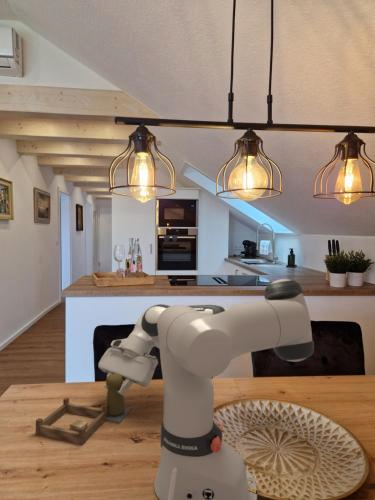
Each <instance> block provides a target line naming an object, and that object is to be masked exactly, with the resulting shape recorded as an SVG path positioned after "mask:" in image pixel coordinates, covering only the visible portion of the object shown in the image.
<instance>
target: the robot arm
mask: <svg viewBox="0 0 375 500" xmlns="http://www.w3.org/2000/svg"><path fill="white" fill-rule="evenodd" d="M264 299H265V300H262V301H260V300H259V301H254V302H246V303H239V304H232V305H231V306H230V307H229V306H228V307H227V306H220V305H216V304H215V305H214V304H196V305H195V304H194V305H182V304H181V305H180V304H179V305H166V304H160V303H159V304H155V305H153V306H149V307H147V308H146V309H145V310H144V311H143V313H141V315H140V317H138V320H137V321H136V322H135V324H134V328H133V330H132V331H131V333H130V334H129V335H128V337H127V338H122V339H115V340H112V342H111V343H110V346H111V347H108V348H107V349H106V351H105V352H104V354H103V355H102V356H101V358H100V360H99V362H98V369H99V370H101V371H102V372H104V373H106V378H107V377H108V376H109V375H110V374H114V373H117V374H120V375H121V376H122V377H123V380H124V382H125V383H123V384H122V386H121V387H119V388H118V389H117V393H118V394H120V395H123V396H124V393H125V392H126V390H128V389H130V388H131V387H132V385H133V384H136V385H140V387H141V386H142V387H147V386H149V385H150V383H151V381H152V378H153V376H154V375H155V374H154V373H155V370H156V368H157V366H158V364H159V360H158V358H157V356H155V355H151V354H150V353H151V351H152V349H153V348H154V347H156V348H158V350H159V357H160V365H161V366H160V367H161V373H162V383H163V385H162V386H163V410H162V411H163V415H162V417H163V418H162V421H161V422H160V434H159V435H160V436H159V441H160V448H161V452H160V457H159V458H160V459H159V465H158V469H157V474H156V476H155V479H154V484H153V488H154V492H155V495H156V496H157V498H158V499H159V500H258V493H257V494H254V493H252V492H249V491H248V487H249V488H253V489H256V490H257V491H258V487H257V483H256V480H255V478H254V476H253V475H252V473H251V472H249V471H247V469H246V465H245V462H244V459H243V457H242V455H241V454H240V453H239V452H238V451H236V450H235V449H234V448H233V447H231V446H230V445H229V444H228V443H226V441H225V440H223V423H222V422H221V423H220V425H217V424H216V422H215V421H214V410H215V409H214V407H215V406H214V405H215V402H214V401H215V389H214V384H213V382H212V378H216V377H218V376H220V375H221V374H223V373H224V371H227V369H228V368H229V366H230V364H231V362H232V360H234V359H236V358H239V357H240V356H242V355H245V354H250V353H253V352H257V351H258V352H259V351H263V350H267V349H273V351H274V353H275V354H276V356H277V357H279V359H281V360H283V361H287V362H292V363H293V362H294V363H295V362H302V361H304V360H305V359H307V358H311V356H312V355H313V354H314V351H315V342H314V340H313V333H312V326H311V325H312V324H311V317H310V313H309V309H308V306H307V302H306V300H305V299H306V298H305V296H304V290H303V288H302V286H301V284H300V283H299V282H298V281H296V280H294V279H288V278H281V279H276V280H274V281H272V282H271V283H269V284H267V285H266V287H265V289H264ZM103 387H104V389H106V390H108V386H107V385H106V383H105V384H104V385H103ZM247 481H248V482H249V481H252V482H253V483H248V482H247Z"/></svg>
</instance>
